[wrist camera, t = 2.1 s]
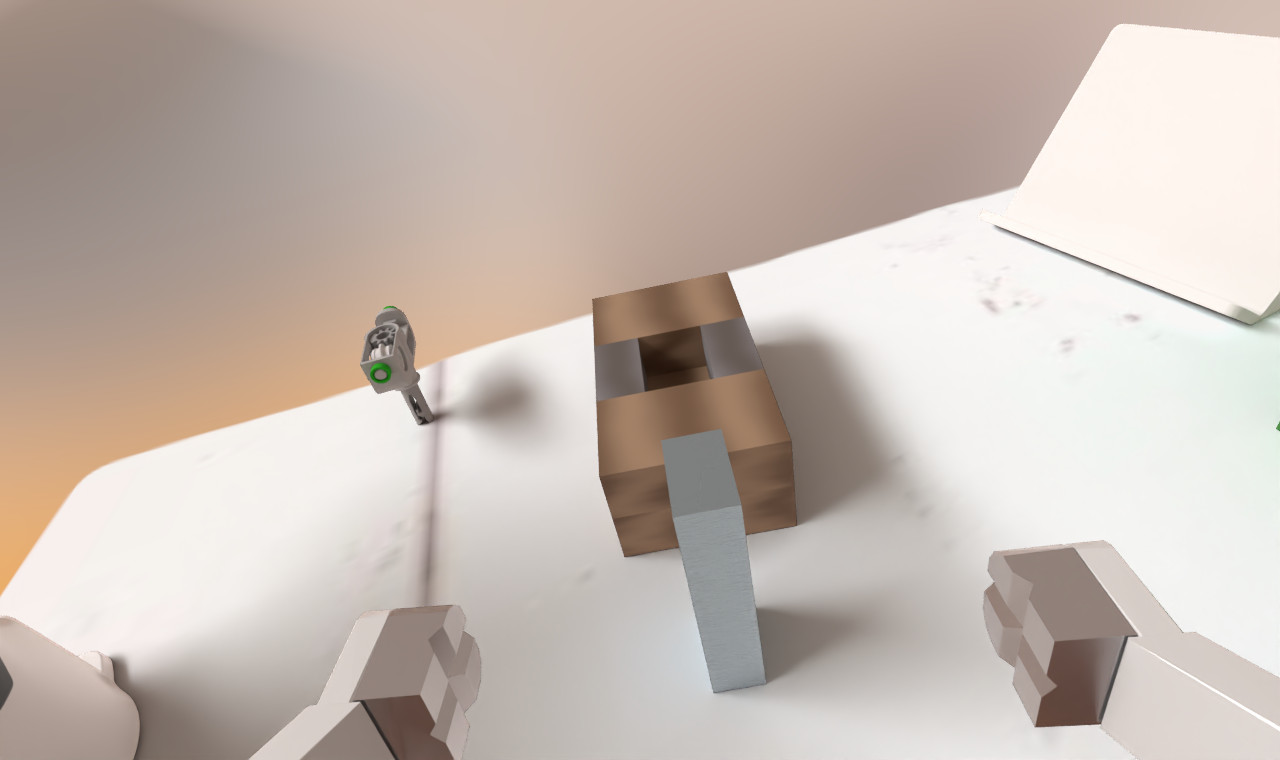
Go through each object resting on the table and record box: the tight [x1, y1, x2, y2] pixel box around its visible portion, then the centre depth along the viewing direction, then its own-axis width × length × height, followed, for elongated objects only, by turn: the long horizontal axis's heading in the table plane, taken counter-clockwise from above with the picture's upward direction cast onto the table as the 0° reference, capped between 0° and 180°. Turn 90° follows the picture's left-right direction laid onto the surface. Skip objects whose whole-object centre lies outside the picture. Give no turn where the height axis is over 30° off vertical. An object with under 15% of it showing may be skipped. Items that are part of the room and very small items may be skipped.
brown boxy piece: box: [592, 272, 797, 557], centre depth 53 cm, size 12×22×8 cm, turn 4°
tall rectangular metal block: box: [661, 429, 766, 693], centre depth 36 cm, size 3×5×15 cm, turn 4°
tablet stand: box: [978, 24, 1280, 325], centre depth 59 cm, size 18×25×17 cm
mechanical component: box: [360, 306, 433, 425], centre depth 61 cm, size 3×10×10 cm, turn 12°
